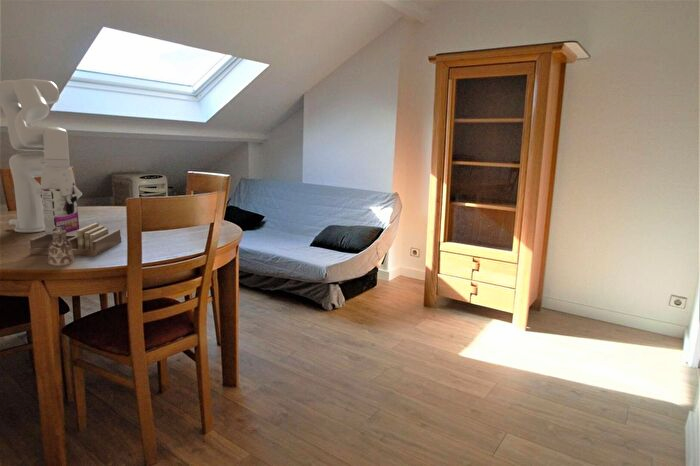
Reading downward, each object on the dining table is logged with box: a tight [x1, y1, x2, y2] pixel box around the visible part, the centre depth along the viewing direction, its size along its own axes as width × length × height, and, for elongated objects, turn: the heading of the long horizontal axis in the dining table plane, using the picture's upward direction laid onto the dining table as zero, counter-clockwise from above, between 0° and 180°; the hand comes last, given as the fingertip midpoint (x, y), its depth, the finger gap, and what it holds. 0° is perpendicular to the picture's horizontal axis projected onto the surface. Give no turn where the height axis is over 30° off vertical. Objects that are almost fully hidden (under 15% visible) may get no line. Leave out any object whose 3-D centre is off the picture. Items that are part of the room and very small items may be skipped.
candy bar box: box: [41, 189, 80, 235], centre depth 170 cm, size 11×5×16 cm, turn 169°
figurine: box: [47, 226, 75, 267], centre depth 152 cm, size 7×7×12 cm
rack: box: [29, 228, 122, 257], centre depth 172 cm, size 22×22×5 cm
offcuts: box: [76, 222, 109, 250], centre depth 172 cm, size 5×14×8 cm, turn 5°
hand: (60, 213), depth 170 cm, fingers closed on candy bar box, 5 cm apart
